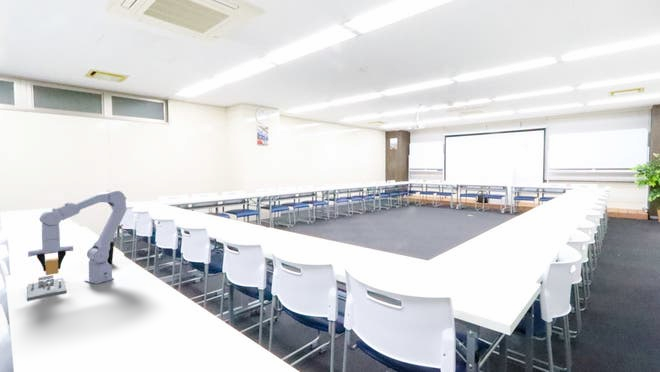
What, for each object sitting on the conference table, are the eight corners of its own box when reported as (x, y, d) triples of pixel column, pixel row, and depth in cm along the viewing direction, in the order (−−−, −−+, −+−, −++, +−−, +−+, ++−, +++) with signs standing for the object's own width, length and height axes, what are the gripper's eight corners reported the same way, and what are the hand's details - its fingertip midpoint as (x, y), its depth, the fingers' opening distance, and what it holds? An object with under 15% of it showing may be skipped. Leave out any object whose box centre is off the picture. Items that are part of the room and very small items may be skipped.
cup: (107, 266, 169) (107, 245, 168) (94, 266, 169) (93, 244, 169) (117, 262, 177) (117, 241, 176) (104, 262, 177) (104, 241, 176)
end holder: (53, 283, 139) (53, 278, 139) (38, 286, 135) (38, 281, 135) (53, 280, 144) (53, 274, 144) (38, 282, 140) (38, 277, 140)
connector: (58, 273, 133) (58, 259, 133) (46, 275, 130) (45, 261, 130) (57, 271, 136) (57, 257, 136) (45, 273, 133) (45, 259, 133)
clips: (61, 286, 136) (61, 280, 136) (31, 291, 129) (31, 286, 129) (60, 282, 140) (60, 277, 140) (31, 287, 134) (31, 282, 134)
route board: (66, 292, 132) (66, 289, 132) (27, 300, 123) (27, 297, 123) (62, 280, 147) (62, 277, 146) (27, 286, 138) (27, 284, 138)
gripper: (71, 235, 141) (72, 264, 141) (27, 239, 130) (28, 271, 131) (73, 237, 136) (74, 267, 136) (27, 242, 125) (28, 275, 126)
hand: (52, 269), depth 133 cm, fingers closed on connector, 4 cm apart
